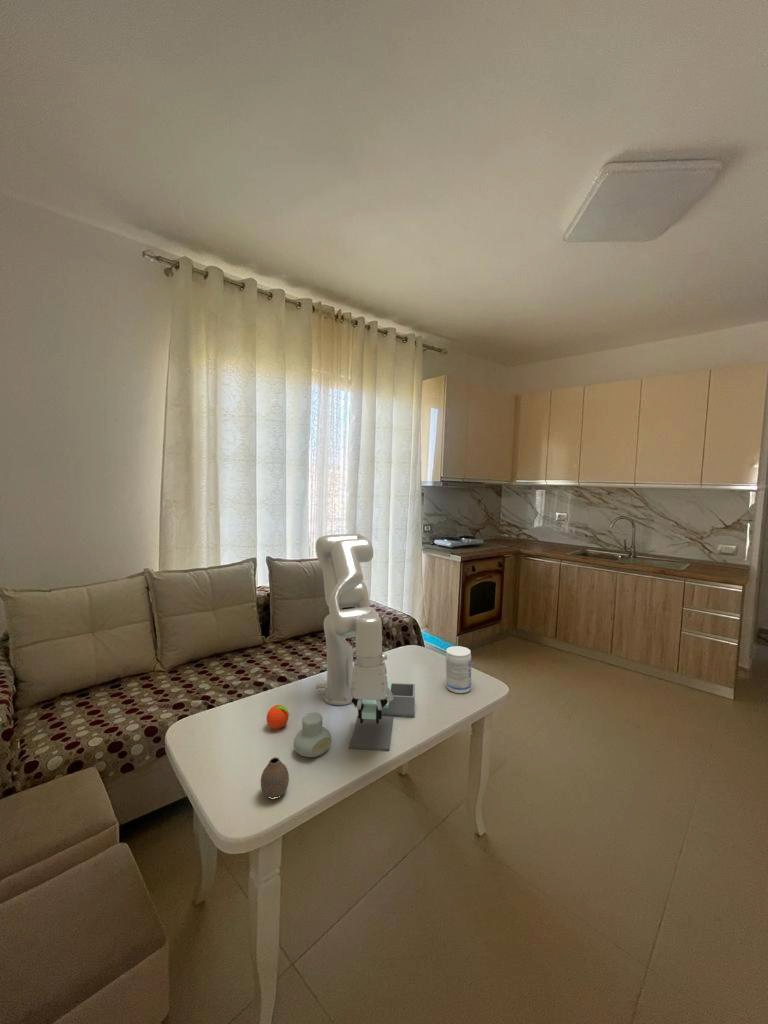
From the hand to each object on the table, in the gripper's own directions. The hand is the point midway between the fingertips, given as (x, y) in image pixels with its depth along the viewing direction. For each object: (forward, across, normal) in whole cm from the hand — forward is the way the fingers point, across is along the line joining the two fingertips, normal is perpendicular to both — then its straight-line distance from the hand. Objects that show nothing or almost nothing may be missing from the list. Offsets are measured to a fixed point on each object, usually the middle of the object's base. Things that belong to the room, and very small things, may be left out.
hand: (370, 720), depth 114 cm
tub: (+10, -6, -24) cm, 27 cm away
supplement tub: (+10, -29, -40) cm, 51 cm away
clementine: (+10, +31, -10) cm, 34 cm away
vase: (+11, +22, +16) cm, 30 cm away
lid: (-2, 0, -7) cm, 7 cm away
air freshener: (+10, +17, 0) cm, 20 cm away
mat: (+10, +1, -10) cm, 14 cm away
